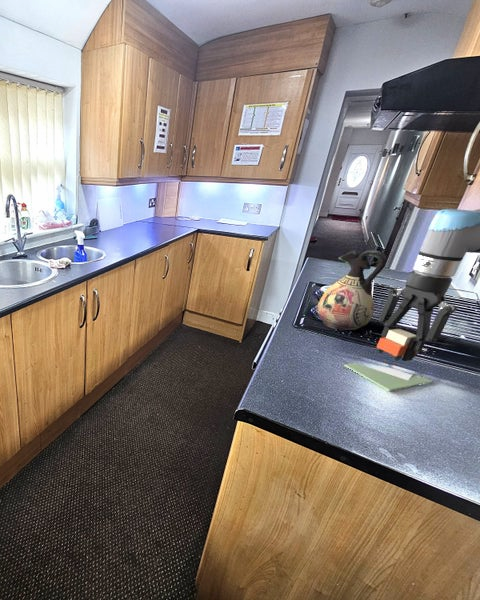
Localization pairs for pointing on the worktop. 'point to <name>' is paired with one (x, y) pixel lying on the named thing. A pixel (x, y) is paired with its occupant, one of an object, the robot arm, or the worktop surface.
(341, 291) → the ceramic jug
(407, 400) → the worktop surface
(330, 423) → the worktop surface
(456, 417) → the worktop surface
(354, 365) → the mat
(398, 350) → the toy car
